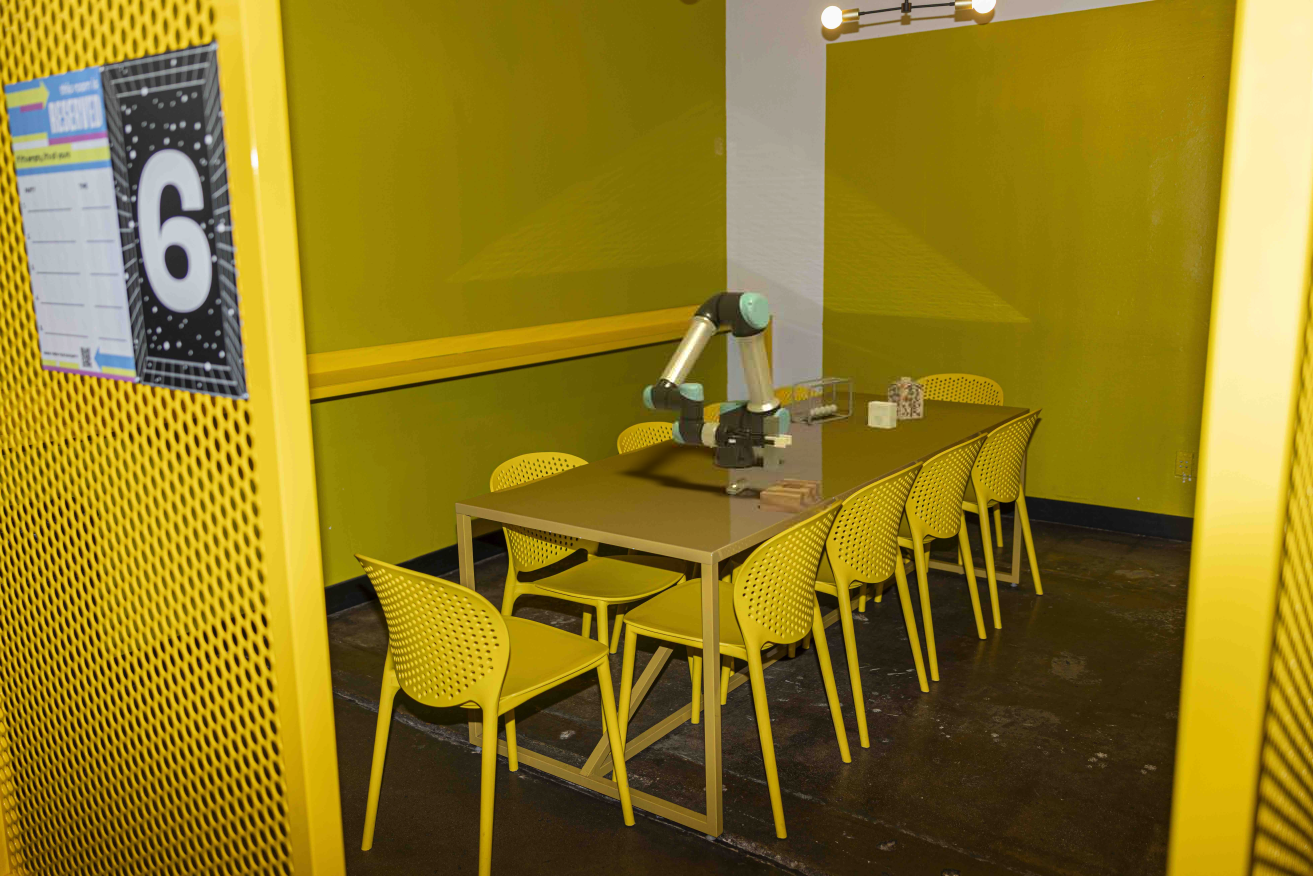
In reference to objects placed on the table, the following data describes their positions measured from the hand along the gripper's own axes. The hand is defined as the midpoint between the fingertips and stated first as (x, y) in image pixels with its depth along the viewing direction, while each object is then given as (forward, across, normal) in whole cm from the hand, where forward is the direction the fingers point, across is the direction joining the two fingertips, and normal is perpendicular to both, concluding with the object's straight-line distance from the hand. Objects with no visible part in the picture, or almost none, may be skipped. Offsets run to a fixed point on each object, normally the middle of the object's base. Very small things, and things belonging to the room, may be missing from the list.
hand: (788, 441), depth 297 cm
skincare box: (-13, -133, -21) cm, 135 cm away
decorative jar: (-11, -158, -21) cm, 160 cm away
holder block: (0, -2, -20) cm, 20 cm away
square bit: (-5, 0, -9) cm, 10 cm away
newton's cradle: (-42, -137, -21) cm, 145 cm away
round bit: (-22, -8, -19) cm, 30 cm away
